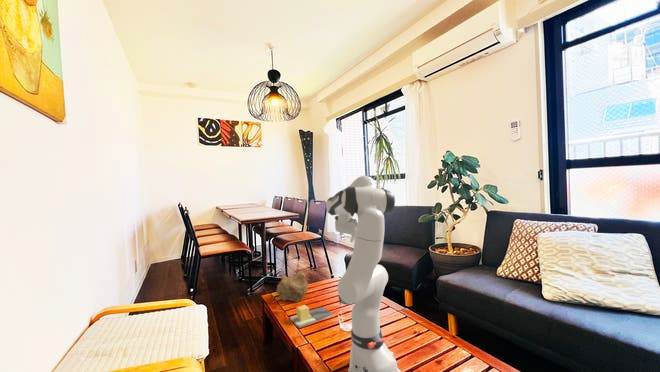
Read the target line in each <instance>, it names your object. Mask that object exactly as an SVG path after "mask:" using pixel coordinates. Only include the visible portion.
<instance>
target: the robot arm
mask: <svg viewBox="0 0 660 372" xmlns="http://www.w3.org/2000/svg"><path fill="white" fill-rule="evenodd" d="M395 198H396V197H395V195H394V194H393V192H392V191H390V190H388V189H385V188H383V187H381V188H377V185H376V182H375V180H374V179H373V178H372V177H371V176H368V175H360V176H358V177H357V178H356V179H354V180H353V181H352V182H351V184H350V185H348V186H346V187H345V188H343V189H342V190H340V191H338V192H337V193H335V195H333V196H330V197H329V198H328V199H326V203H325V205H326V206H325V207H326V212H327V213H328V214H330V215H331V216H334V228H335V231H336V232H338V233H339V235H340V238H341V240H342V241H345V240H346V236H345V235H344V234H347V235H350V237H351V238H350V243H353V244H354V245H353V249H352V250H353V251H352V255H351V258H350V261H349V263H348V266H347V268H346V270H345V272H344V274H343V276H342V277H341V278H340V279H339V281H338V283H337V293H338V297H339V296H340V298H341V299H342V300H343V301H344V302H346V303H348V304H347V305H351V304H354V305H353V307H352V309H351V331H350V339H351V341H352V343H351V347H350V352H349V353H350V354H349V367H348V369H347V372H402V370H400V368H398V364H397V360H396V358H395V354H394V352H393V351H391V350H390V349H389V348H388V346H387V345H386V344H385V342H384V341H385V340H386V337H383V333H382V330H381V327H380V325H381V323H380V313H381V312H380V310H381V305H382V304H381V303H382V299H383V295H384V291H385V287H386V286H387V283H388V281H389V274H388V272H387V270H386V268H385V267H384V266H383V265H382V264H378V263H380V261H381V259H382V256H383V249H384V248H383V247H384V240H385V239H384V238H385V227H386V226H385V224H386V223H385V215H390V214H392V212H393V211H394V209H395V206H396V205H395V204H396V199H395ZM355 214H356V216H357V218H355Z"/></svg>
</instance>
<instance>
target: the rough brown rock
mask: <svg viewBox="0 0 660 372" xmlns="http://www.w3.org/2000/svg"><path fill="white" fill-rule="evenodd" d="M276 287H277V288H276V289H275V290H276V291H275V292H276V295H278V296H280V297H281V299H282V301H285V302H286V301H293V302H295V303H300V302H301V301H302V299H303V298H304V296H305V295H306V293H307V292H308V289H309V284H308V281H307V278H306V274H305V273H304V272H302V271H298V272H296V274H295V275H294V276H293V277H288V276H287V275H283V276H282V277H281V279H280V282H279V283H278V284H277V286H276Z"/></svg>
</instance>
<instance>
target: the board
mask: <svg viewBox="0 0 660 372" xmlns="http://www.w3.org/2000/svg"><path fill="white" fill-rule="evenodd" d="M331 317H334V314H333V313H332V312H330V311H329V310H328V309H326V308H325V307H323V306H320V307H317V308H314V309H311V310H309V319H308V320H305V321H303V322H301V321H300V320H298V319H297V314H296V315H293V316H291V317H289V320H290V321H291V322H292V323H294V325H295V326H296V327H298V329H300V328H304V327H307V326H309V325H312V324H314V323H318V322H320V321H323V320H326V319H329V318H331Z"/></svg>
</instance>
